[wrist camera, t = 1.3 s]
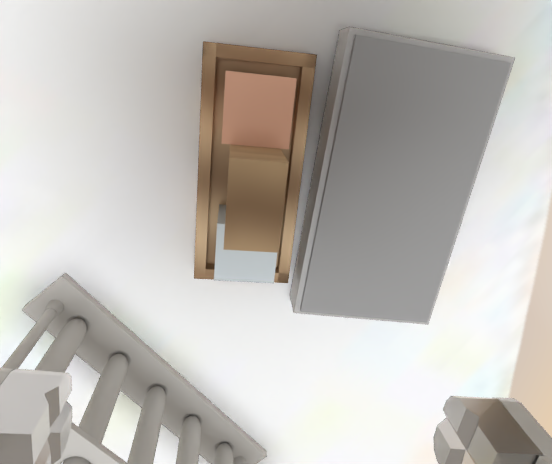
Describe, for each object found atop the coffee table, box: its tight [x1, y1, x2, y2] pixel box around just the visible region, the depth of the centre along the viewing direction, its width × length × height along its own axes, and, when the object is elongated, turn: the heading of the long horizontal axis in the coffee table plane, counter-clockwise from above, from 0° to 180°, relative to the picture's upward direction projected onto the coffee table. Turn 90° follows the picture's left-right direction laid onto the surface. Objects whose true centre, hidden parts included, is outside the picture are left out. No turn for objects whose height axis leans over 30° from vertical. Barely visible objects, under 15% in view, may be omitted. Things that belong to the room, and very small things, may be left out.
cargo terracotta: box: [221, 71, 297, 149], centre depth 26 cm, size 4×4×4 cm
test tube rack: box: [2, 273, 267, 464], centre depth 31 cm, size 25×4×13 cm, turn 37°
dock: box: [290, 27, 515, 324], centre depth 31 cm, size 20×11×3 cm, turn 171°
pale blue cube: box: [214, 204, 277, 283], centre depth 29 cm, size 4×4×4 cm
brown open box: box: [194, 42, 317, 283], centre depth 27 cm, size 16×7×10 cm, turn 174°
